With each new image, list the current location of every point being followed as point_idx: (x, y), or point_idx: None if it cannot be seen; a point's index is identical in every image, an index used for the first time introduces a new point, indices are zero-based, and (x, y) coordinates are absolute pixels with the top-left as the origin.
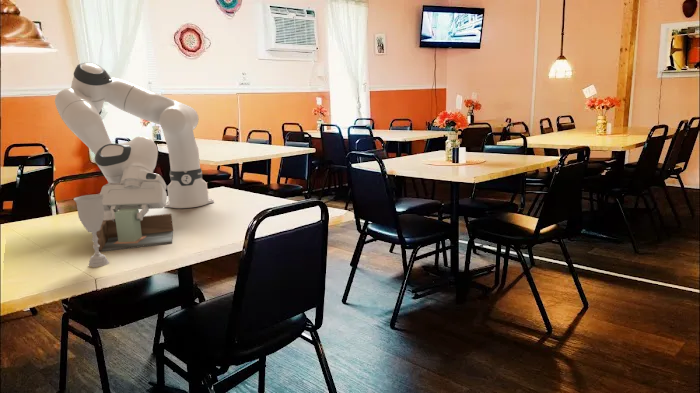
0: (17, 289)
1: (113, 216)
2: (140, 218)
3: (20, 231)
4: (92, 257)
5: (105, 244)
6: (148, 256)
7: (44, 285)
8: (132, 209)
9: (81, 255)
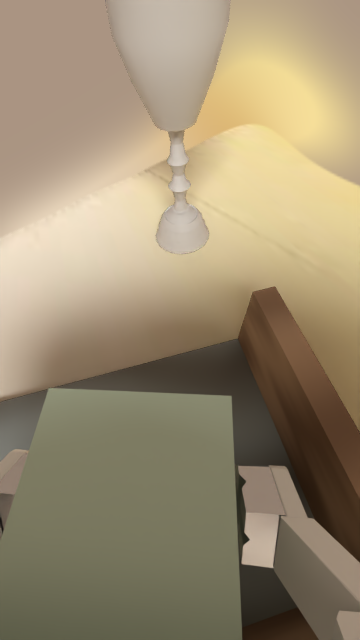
0: (276, 141)
1: (279, 484)
2: (18, 453)
3: None
4: (189, 204)
5: (268, 415)
6: (52, 275)
7: (235, 151)
8: (47, 557)
9: (294, 309)
